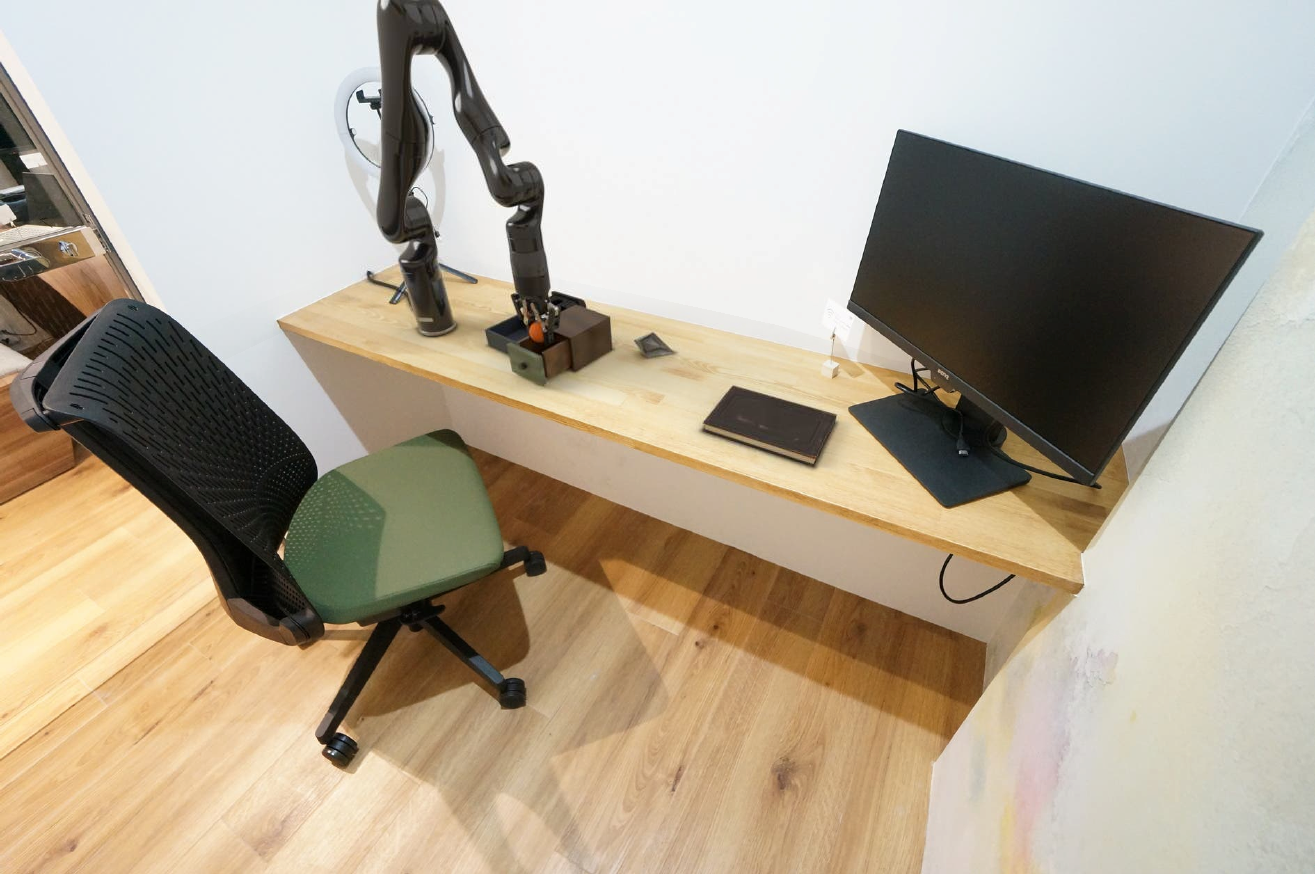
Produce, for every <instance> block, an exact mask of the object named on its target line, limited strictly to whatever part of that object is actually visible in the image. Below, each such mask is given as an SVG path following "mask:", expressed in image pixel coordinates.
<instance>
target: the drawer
mask: <svg viewBox="0 0 1315 874" xmlns="http://www.w3.org/2000/svg"><path fill="white" fill-rule="evenodd" d="M553 337H554V342H553V344H551V345H550V346H546V345H544V342H543V343H539V342H536V341H534V340H532V339H530V338H529V336H528V337H526V338H524V339H522V340H520V341H518V342H517V343H518V345H515V344H513V343H511V342H510V343H508V344H507V348H508V353H509V355H508V357H509V362H510V367H511V372H512V373H514V374H516V375H519V376H520V377H523V378H524V379H526V380H529V381H531V382H533V383H536V384H537V385H540V386H541V387H543V386H545V385H547V380H549V379H551V378H553V377H554V376H555V377H556V375H558V374H560V373H562V372H563V371H565V370H567V368H568V367H570V366H572V362H571V354H570V346H569V340H567V339H565V338H562V337H560V336H557V335H555V334H553ZM546 379H547V380H546Z"/></svg>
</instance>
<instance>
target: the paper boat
mask: <svg viewBox="0 0 1315 874" xmlns="http://www.w3.org/2000/svg"><path fill="white" fill-rule="evenodd" d="M632 340H633V339H632ZM633 342H634V343H635V345H636V346H637V348H638V349H639V351H640V352H641V353H642V354H643V356H644V357H646V358H653V357H660V356H664V355H671V354H675V351H674V350H673V349H672V348H671V347H669V346H668V344H666V343H665V342H664V340H662V339H661V338H660V337H659V336H658V334H656V333H655V332H654V331H653V332H649V333H647V334H644V335H642V336H640V337H637V338H635V339H634V340H633Z"/></svg>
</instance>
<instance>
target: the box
mask: <svg viewBox="0 0 1315 874" xmlns="http://www.w3.org/2000/svg"><path fill="white" fill-rule="evenodd" d="M534 322H537V319H536V320H535V321H534ZM484 332H485V337H486V342H487V346H489V347H490V348H493V349H494V350H497V351H500V352H501V353H504V354H506V355H508V356H509V353H508V348H507V344H508V343H510V342H511V343H513V344H515V345H518V343H517V342H518V341H520V340H522V339H524V338H526V337H528V336H529V335H528V331H527V326H526V324H525V323H524V320H520V319H519V318H518V315H517V314H515V315H513V316H510V317H509V318H507V319H504V320H502V321H500V322H498V323H496V324H493V325H491V326H489V327H487V328H485V329H484Z"/></svg>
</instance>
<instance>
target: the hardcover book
mask: <svg viewBox="0 0 1315 874" xmlns="http://www.w3.org/2000/svg"><path fill="white" fill-rule="evenodd" d="M708 414H709V415H708V416H706V418H705V419H704V420H703V422H702V424H703V425H704V427H703V428H702V432H705V433H708V434H711V435H713V436H717V437H720V438H723V439H727V440H729V441H733V442H735V443H738V444H742V445H744V446H748V447H751V448H754V449H757V450H760V451H763V452H766V453H769V454H773V455H776V456H778V457H781V458H784V459H788V460H791V461H794V462H797V463H800V464H803V465H806V466H809V467H812V468H814V467H815V465H816V463H817V461H818V458H819V457H820V455H821V453H822V451H823V449H824V446H825V444H826V442H827V440H828V438H829V436H830V434H831V432H832V429H833V428H834V426H835V424H836V421H837V417H838V414H836V413H833V412H829V411H826V410H822V409H819V408H815V407H812V406H808V405H805V404H801V403H797V402H795V401H791V400H787V399H784V398H780V397H776V396H772V395H769V394H765V393H763V392H758V391H756V390H755V391H754V390H751V389H748V388H744V387H740V386H737V385H734V384H733V385H732V386H731V387H730V388H729V390H727V392H725V394H724V396H723V397H722V398H721V399H720V401H719V402H718V403H717V404H716V406H715V407H714V408H713V409H712V410H711V411H710V413H708Z"/></svg>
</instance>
